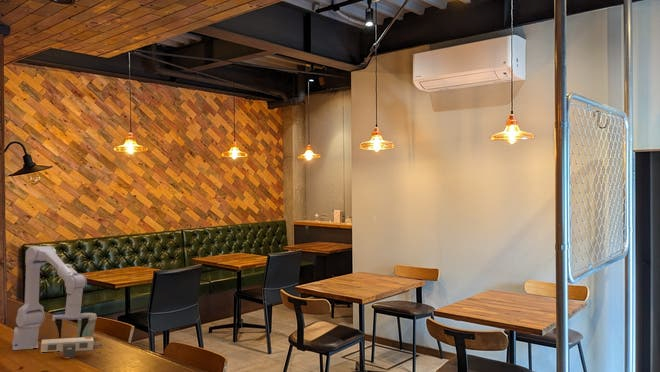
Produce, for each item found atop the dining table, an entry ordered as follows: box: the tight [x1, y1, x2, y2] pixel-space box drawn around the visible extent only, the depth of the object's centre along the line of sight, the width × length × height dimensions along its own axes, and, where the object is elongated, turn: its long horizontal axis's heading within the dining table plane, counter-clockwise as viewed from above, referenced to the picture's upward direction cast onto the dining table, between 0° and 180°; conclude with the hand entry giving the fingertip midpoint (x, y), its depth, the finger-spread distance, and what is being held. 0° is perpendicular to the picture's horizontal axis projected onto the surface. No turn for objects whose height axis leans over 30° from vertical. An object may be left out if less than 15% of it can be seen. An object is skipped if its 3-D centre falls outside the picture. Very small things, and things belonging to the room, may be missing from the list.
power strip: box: [40, 337, 103, 353], centre depth 216 cm, size 24×7×4 cm, turn 120°
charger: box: [61, 343, 76, 359], centre depth 205 cm, size 4×6×5 cm
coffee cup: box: [77, 312, 98, 338], centre depth 232 cm, size 8×9×12 cm
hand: (70, 337), depth 205 cm, fingers open, 7 cm apart
